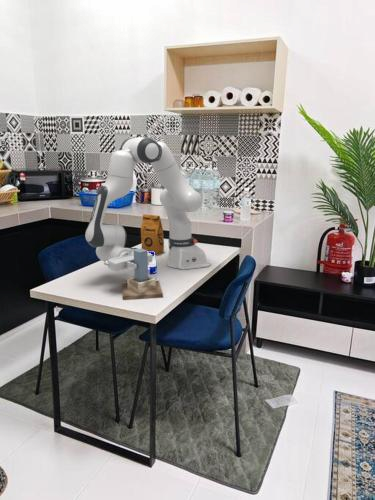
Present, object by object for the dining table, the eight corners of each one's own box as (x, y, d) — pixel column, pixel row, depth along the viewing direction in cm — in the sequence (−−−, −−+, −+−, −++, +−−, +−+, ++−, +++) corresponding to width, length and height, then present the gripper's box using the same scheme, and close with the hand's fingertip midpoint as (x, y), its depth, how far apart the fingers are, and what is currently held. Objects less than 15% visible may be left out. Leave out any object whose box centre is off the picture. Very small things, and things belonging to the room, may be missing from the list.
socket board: (158, 283, 174) (158, 272, 173) (162, 297, 159) (162, 284, 157) (122, 285, 171) (121, 274, 170) (122, 299, 156) (122, 286, 155)
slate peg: (142, 280, 167) (141, 248, 163) (148, 282, 164) (147, 250, 160) (134, 282, 164) (133, 250, 160) (140, 285, 161) (139, 252, 158)
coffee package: (157, 256, 216) (156, 217, 210) (139, 253, 222) (137, 215, 216) (167, 252, 224) (166, 214, 218) (149, 249, 230) (148, 212, 224)
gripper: (101, 255, 163) (121, 262, 153) (140, 246, 177) (160, 252, 167) (102, 270, 165) (121, 277, 155) (140, 260, 179) (160, 267, 169)
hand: (142, 264), depth 161 cm, fingers closed on slate peg, 4 cm apart
